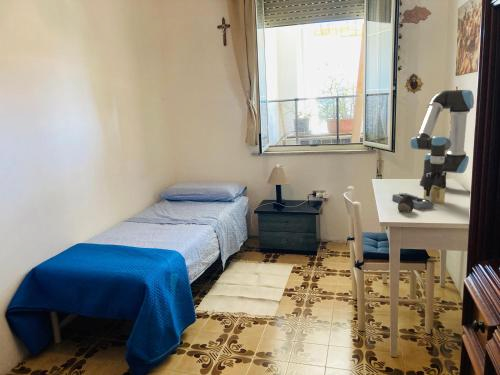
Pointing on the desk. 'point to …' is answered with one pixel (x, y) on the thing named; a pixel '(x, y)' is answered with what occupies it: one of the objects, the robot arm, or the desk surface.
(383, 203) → the desk surface
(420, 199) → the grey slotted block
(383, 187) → the desk surface
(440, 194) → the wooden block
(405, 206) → the stone
